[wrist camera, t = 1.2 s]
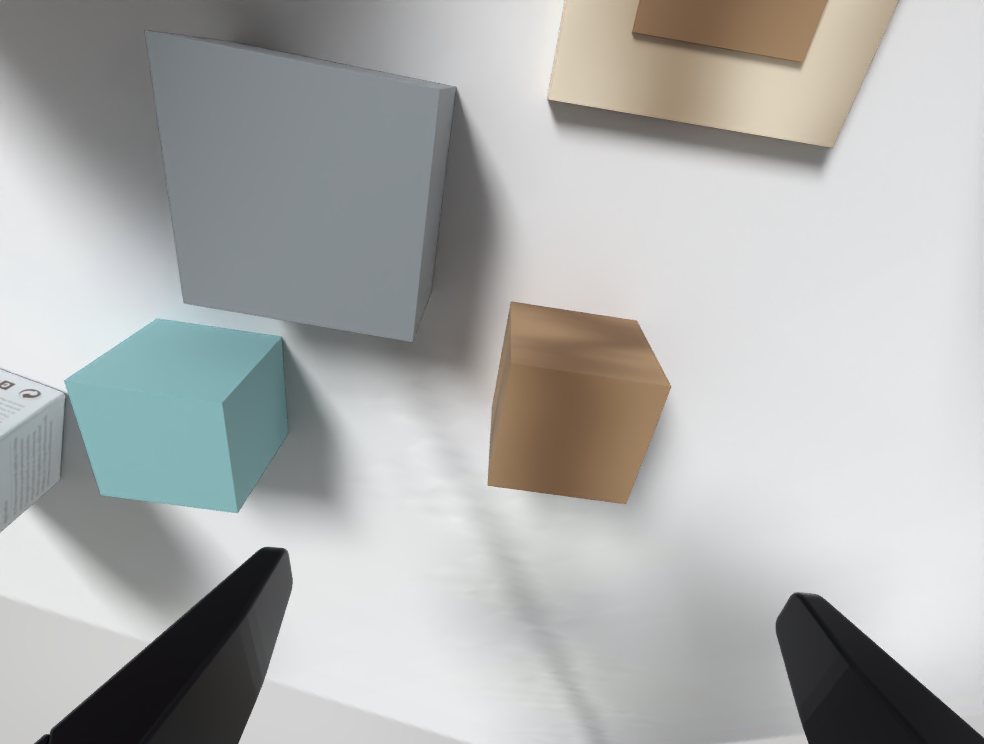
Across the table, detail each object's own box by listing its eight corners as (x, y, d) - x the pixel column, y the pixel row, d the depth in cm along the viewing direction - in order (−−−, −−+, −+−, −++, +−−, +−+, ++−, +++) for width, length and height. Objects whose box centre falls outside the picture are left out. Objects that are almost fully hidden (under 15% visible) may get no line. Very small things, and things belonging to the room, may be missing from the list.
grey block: (456, 86, 16) (439, 89, 12) (431, 290, 20) (412, 342, 16) (235, 42, 16) (144, 30, 12) (249, 257, 19) (183, 303, 15)
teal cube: (282, 335, 21) (221, 402, 16) (288, 432, 23) (237, 512, 19) (158, 317, 21) (64, 380, 16) (178, 417, 23) (100, 495, 19)
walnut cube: (636, 319, 20) (671, 386, 16) (603, 422, 22) (626, 504, 18) (510, 300, 20) (511, 363, 15) (492, 406, 22) (487, 485, 18)
